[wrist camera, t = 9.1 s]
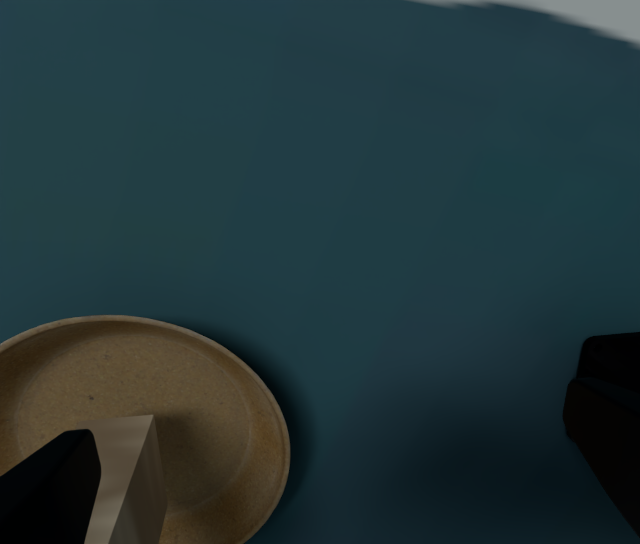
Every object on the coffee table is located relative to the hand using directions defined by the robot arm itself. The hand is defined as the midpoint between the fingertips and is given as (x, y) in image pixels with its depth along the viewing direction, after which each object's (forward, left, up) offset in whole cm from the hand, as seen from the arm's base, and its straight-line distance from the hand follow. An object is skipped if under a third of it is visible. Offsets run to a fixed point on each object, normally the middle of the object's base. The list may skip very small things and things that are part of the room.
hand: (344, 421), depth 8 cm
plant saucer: (+8, +9, -13) cm, 18 cm away
